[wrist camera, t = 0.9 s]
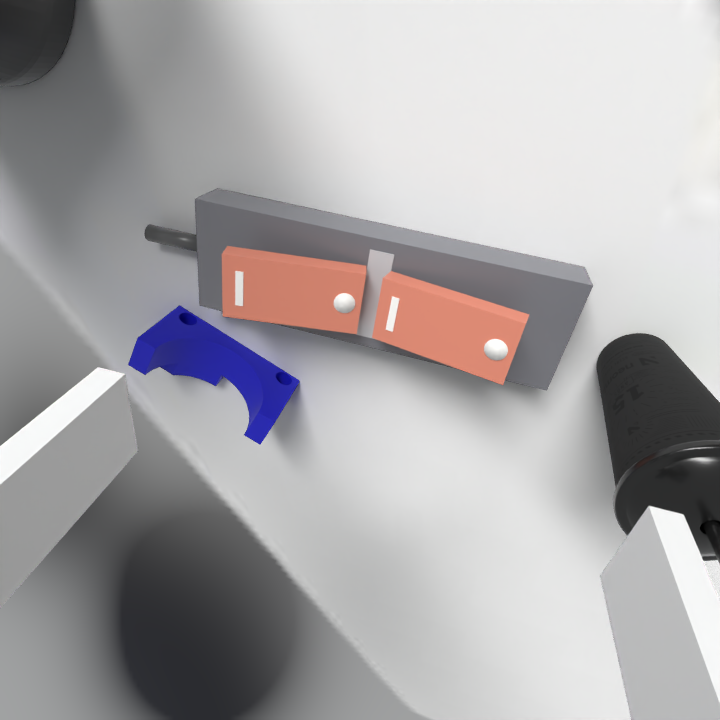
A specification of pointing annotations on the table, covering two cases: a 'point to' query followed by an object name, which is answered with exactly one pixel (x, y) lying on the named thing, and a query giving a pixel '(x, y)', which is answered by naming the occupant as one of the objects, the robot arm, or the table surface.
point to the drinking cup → (661, 437)
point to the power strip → (392, 253)
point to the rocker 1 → (292, 289)
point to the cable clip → (215, 365)
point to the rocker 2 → (448, 326)
